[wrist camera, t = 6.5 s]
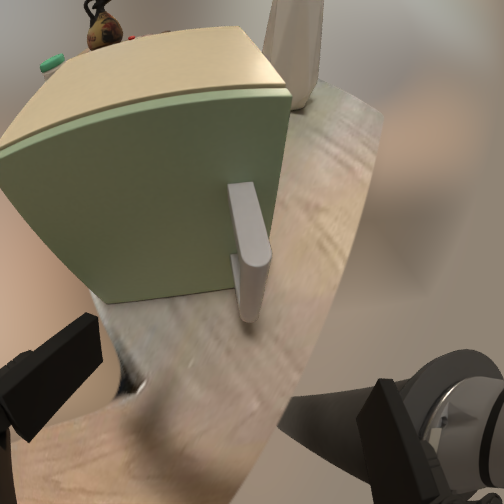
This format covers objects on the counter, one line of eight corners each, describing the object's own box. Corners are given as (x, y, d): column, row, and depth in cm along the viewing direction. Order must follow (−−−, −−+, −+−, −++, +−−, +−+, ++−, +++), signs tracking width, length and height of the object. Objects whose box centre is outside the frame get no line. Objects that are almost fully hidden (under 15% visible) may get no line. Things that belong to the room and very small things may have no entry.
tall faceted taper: (243, 102, 50) (249, -47, 22) (276, 87, 55) (290, -41, 27) (291, 124, 47) (316, -44, 18) (321, 106, 52) (349, -32, 23)
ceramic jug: (119, 44, 84) (112, -10, 58) (129, 48, 78) (121, -13, 52) (84, 58, 78) (73, 3, 52) (90, 63, 72) (78, 1, 46)
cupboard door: (272, 334, 28) (342, 175, 9) (107, 353, 25) (-52, 249, 6) (259, 275, 31) (287, 87, 12) (106, 296, 28) (-9, 155, 10)
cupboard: (258, 274, 31) (286, 83, 12) (107, 295, 29) (-8, 151, 10) (236, 175, 39) (239, 25, 20) (116, 193, 37) (68, 59, 18)
